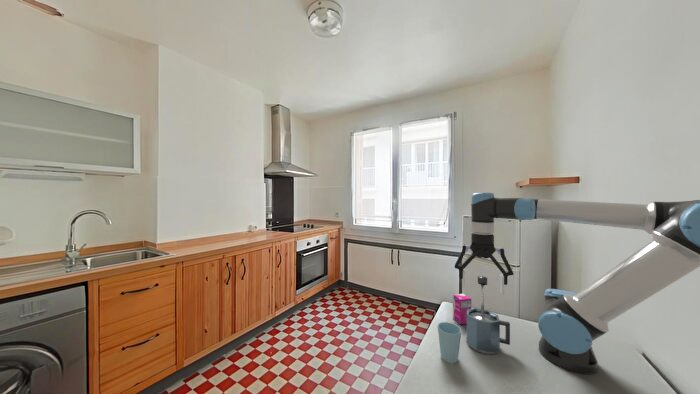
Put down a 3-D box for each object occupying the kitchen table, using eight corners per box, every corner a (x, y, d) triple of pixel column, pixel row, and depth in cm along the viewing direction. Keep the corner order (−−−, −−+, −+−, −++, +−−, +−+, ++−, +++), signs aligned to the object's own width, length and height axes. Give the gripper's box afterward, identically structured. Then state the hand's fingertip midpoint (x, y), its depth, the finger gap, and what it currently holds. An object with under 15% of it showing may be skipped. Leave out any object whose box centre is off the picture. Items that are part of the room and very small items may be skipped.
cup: (466, 361, 79) (466, 330, 80) (450, 368, 76) (449, 336, 76) (448, 348, 86) (448, 320, 86) (433, 354, 83) (433, 324, 83)
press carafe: (507, 343, 89) (507, 313, 90) (512, 361, 80) (512, 327, 80) (466, 334, 95) (466, 306, 96) (466, 349, 86) (466, 318, 86)
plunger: (494, 317, 90) (494, 275, 91) (496, 327, 83) (496, 282, 83) (469, 312, 94) (469, 272, 94) (470, 322, 86) (470, 279, 87)
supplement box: (452, 318, 108) (452, 294, 108) (463, 317, 109) (463, 293, 109) (460, 325, 102) (460, 299, 102) (472, 324, 103) (472, 298, 104)
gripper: (518, 234, 87) (518, 292, 87) (448, 230, 97) (448, 281, 97) (523, 237, 80) (523, 299, 80) (447, 232, 91) (447, 287, 90)
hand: (482, 290), depth 89 cm, fingers open, 12 cm apart
